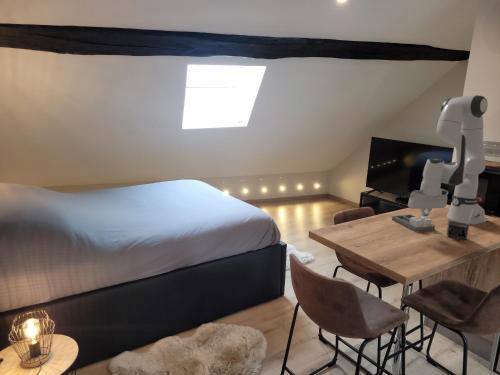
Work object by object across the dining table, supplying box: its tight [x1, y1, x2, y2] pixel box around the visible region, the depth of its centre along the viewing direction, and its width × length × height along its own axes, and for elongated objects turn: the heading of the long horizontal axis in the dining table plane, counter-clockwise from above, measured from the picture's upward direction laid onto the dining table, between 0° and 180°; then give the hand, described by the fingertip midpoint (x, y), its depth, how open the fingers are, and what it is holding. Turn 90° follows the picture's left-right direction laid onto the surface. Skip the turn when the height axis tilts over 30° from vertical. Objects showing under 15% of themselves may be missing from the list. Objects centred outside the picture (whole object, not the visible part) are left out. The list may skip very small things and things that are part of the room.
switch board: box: [391, 213, 436, 233], centre depth 200 cm, size 12×19×3 cm, turn 16°
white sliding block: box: [409, 216, 423, 227], centre depth 194 cm, size 4×5×5 cm
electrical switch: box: [445, 219, 471, 241], centre depth 182 cm, size 9×5×9 cm, turn 57°
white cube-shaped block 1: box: [418, 216, 433, 226], centre depth 196 cm, size 4×5×5 cm
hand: (424, 216), depth 186 cm, fingers closed
